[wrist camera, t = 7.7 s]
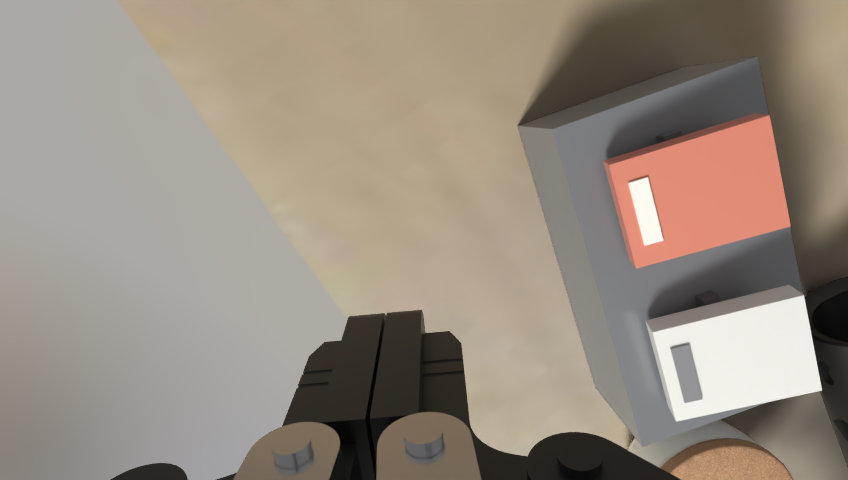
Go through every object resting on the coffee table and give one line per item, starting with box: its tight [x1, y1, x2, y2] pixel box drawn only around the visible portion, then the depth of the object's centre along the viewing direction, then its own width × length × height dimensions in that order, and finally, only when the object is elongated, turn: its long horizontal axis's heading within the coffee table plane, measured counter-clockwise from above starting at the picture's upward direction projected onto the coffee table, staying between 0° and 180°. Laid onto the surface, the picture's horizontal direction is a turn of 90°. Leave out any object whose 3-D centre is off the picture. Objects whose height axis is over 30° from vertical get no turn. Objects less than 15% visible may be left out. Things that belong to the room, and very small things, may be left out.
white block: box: [646, 285, 822, 422], centre depth 33 cm, size 6×8×2 cm
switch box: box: [518, 56, 803, 447], centre depth 37 cm, size 21×12×9 cm, turn 19°
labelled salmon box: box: [603, 113, 791, 269], centre depth 31 cm, size 6×8×2 cm
